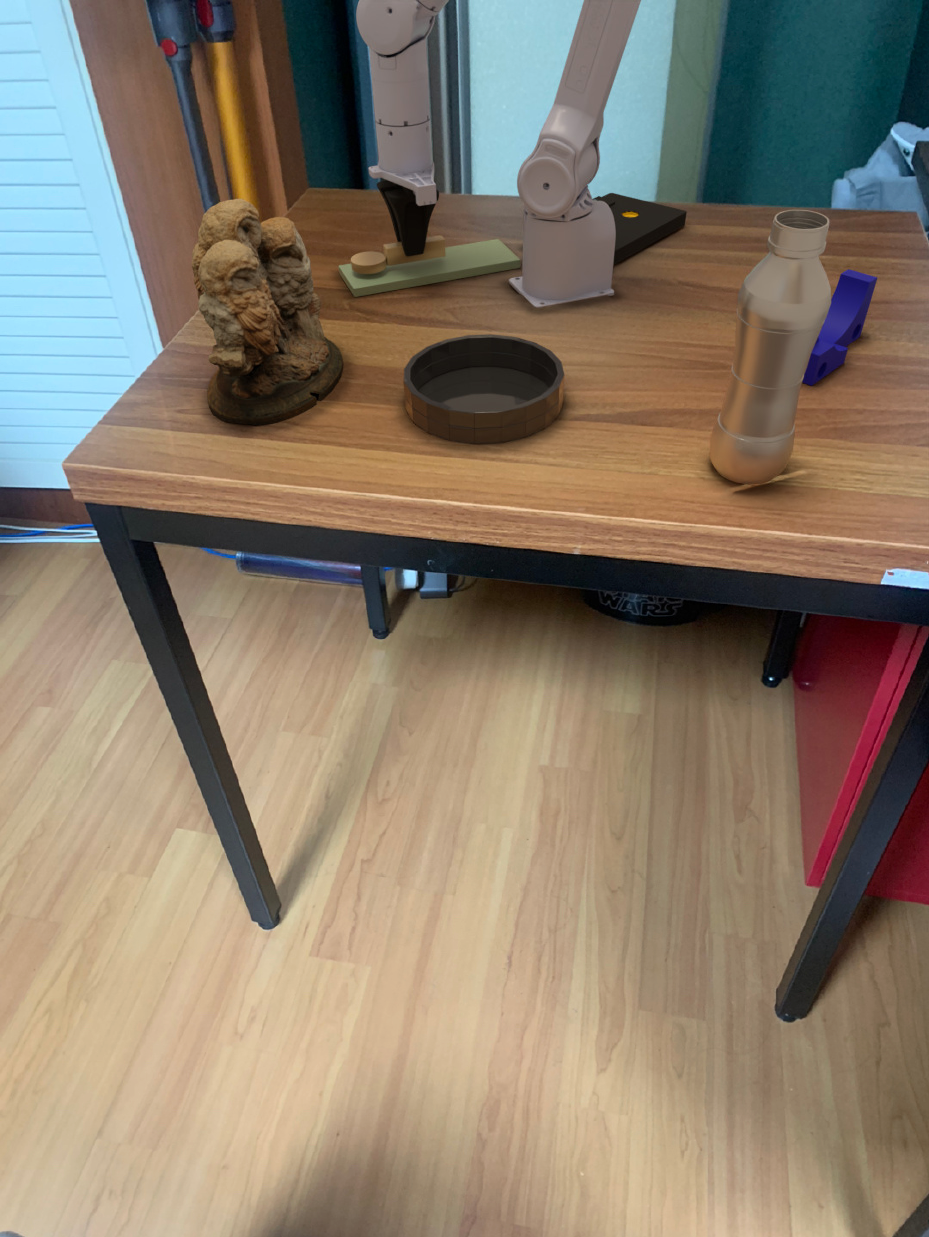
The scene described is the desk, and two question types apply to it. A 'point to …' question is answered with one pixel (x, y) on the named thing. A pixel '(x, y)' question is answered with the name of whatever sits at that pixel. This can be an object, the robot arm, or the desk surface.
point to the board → (434, 268)
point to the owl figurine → (260, 317)
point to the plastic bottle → (772, 350)
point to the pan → (483, 388)
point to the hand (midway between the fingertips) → (411, 251)
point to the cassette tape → (640, 223)
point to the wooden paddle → (395, 256)
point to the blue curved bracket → (840, 324)
